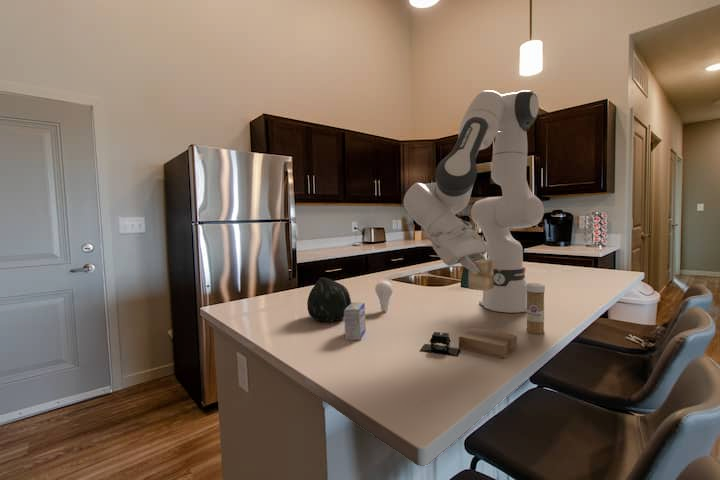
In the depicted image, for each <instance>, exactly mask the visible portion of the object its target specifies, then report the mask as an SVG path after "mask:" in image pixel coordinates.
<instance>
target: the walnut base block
mask: <svg viewBox="0 0 720 480" xmlns="http://www.w3.org/2000/svg"><path fill="white" fill-rule="evenodd" d="M458 338H459V339H458V348H461V350H462V349H463V350H466V351H470V352H475V353H479V354H482V355H486V356H490V357H494V358H498V359H499V358H500V359H503V360H505V358H507V357H508V356H509V355H510V354H511V353H512V352H513V351H514V350H515V349H516V348H517V344H518V343H517V342H518V341H517V334H513V333H507V332H502V331H496V330H492V329H487V328H481V327H476V326H473V327H472V328H470V329H468V330H467V331H465V332H463V333H462V334H461V335H459V337H458Z"/></svg>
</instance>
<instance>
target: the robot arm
mask: <svg viewBox="0 0 720 480" xmlns="http://www.w3.org/2000/svg"><path fill="white" fill-rule="evenodd" d="M539 110H540V104H539V99H538V96H537V95H536V93H535V92H534V91H532V90H520V91H518V92H516V91H515V92H509V93H505V94H500V93H499V92H497V91H495V90H483V91H481V92H479V93H478V94H477V95H475V97H474V99H472V101H471V103H470V104H469V106H468V107H467V109H466V111H465V113H464V115H463V117H462V120H461V122H460V125H459V130H458V136H457V140H456V142H455V145H454V146H453V148H452V150H451V151H450V152H449V153H448V154H447V155H446V156H445V157H444V158H443V159H442V160H440V162H438V164H437V166H436V169H435V182H429V183H421V182H415V183H414V184H412V185H411V186H410V187H409V188H408V189H407V191H406V192H405V194H404V196H403V206H404V208H405V210H406V212H407V213H408V215H410V217H411V218H412V219H413V221H415V223H416V224H417V225H419V226H420V227H421V228H422V229H423V231H424V233H425V234H426V235H427V236H428V237H429V241H430V242H431V247H432V249H433V250H434V252H435V253H436V255H437V256H438V257H439V259H440V260H441V261H442V262H443V263H444V264H445V265H446V266H449V267H451V266H455V265H458V264H459V265H461V266H462V267H463V268H465V269H467V270H470V271H471V272H472V273H473V274H474V275H477V274H479V273H480V272H481V268H479V266H478V265H475V264H474V263H473V262H471V260H474V259H483V260H493V279H494V288H492V289H490V290H488V291H482V299H481V300H479V302H478V304H479V305H481V306H483V307H484V308H485V309H486V310H487V309H488V310H490V311H493V312H500V313H527V290H526V285H527V284H528V282H527V280H526V279H525V277H526V275H525V274H526V270H527V269H526V267H525V266H524V267H523V265H524V264H523V259H524V256H523V255H524V254H523V253H524V252H523V251H524V250H523V246H522V244H521V242H520V241H519V240H516V239H515V238H514V237H513V235H512V234H511V233H512V232H510V229H525V228H530V227H533V226H537V225H538V224H540V223H541V221H542V219H543V217H544V213H545V208H544V207H545V206H544V204H543V202H542V200H541V199H540V198H539V197H537V196H536V195H535V194H534V193H533V192H532V190H531V188H530V186H529V183H528V180H527V166H528V165H527V161H528V147H529V146H528V135H527V134H528V133H527V131H528V130H529V129H530V127H531V126H532V125H533V124H534V123H535V121H536V119H537V118H538V116H539ZM493 142H494V143H493ZM492 143H493V148H492V149H493V150H492V158H491V168H490V169H491V170H490V171H491V172H490V178H491V180H492V181H493V183H495V184H496V185H498V186H500V188H501V194H502V196H489V197H485V198H482V199H479V200H477V201H475V202H474V203H473V205H472V207H471V210H470V216H471V219H472V222H473V223H474V224H475V225H476V226H477V227H478V228H479V229H480V231H481V232H482V234H483V236H484V238H485V240H484V239H483V238H482V236H480V234H478V232H476V230H474V229H472V228H473V226H472V224H471V223H470V222H469V221H466V220H464V219H462V218H459V216H456V215H457V214H458V213H460V212H462V211H464V210H465V209H466V208H467V207H468V205H469V202H470V199H471V195H472V190H473V189H474V188H473V187H474V185H475V182H476V179H477V176H478V168H477V162H476V159H477V155H478V154H479V151H482V150H485V149H487V148H489V147H490V146H491V144H492ZM485 241H486V242H485ZM486 253H487V257H488V258H486V257H485V254H486Z"/></svg>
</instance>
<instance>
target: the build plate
mask: <svg viewBox="0 0 720 480" xmlns="http://www.w3.org/2000/svg"><path fill="white" fill-rule="evenodd" d="M449 335H450V333H448V332H442V333H441V331H433V333H432V334H431V338H430V341H429V343H430V344H429V343H424V344H423V346H421V348H420V349H419V350H418V351H419V352H421V353H429V354H433V355H434V354H435V355H442V356H450V357H456V358H458V357H459V355H460V353H461V350H462V349H461V348H459V347H453V346H451V342H452V341H451V340H452V339H451V337H450V336H449ZM440 344H441V345H440Z"/></svg>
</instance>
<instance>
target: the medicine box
mask: <svg viewBox="0 0 720 480" xmlns="http://www.w3.org/2000/svg"><path fill="white" fill-rule="evenodd" d="M365 306H366V303H365V302H351V303H350V304H349V306H348V307H347V308H346V309H345V310H344V318H343V320H344V321H343V322H344V336H345V340H348V341H361V340H362V338H363V336H364V334H365V333H366V330H367V329H366V327H367V326H366V307H365Z"/></svg>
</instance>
